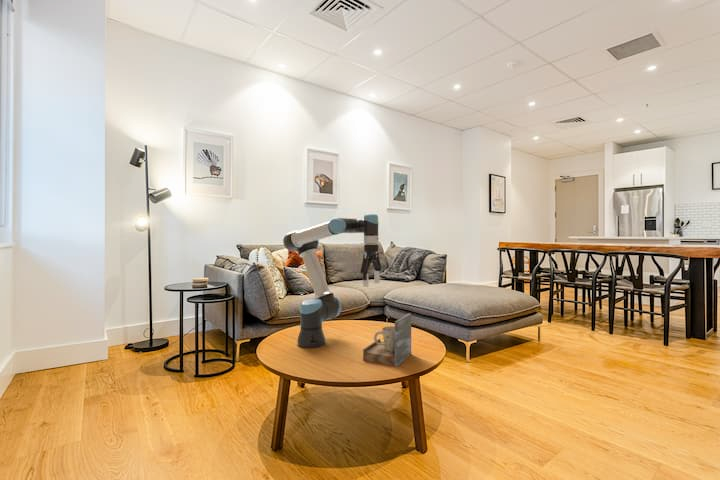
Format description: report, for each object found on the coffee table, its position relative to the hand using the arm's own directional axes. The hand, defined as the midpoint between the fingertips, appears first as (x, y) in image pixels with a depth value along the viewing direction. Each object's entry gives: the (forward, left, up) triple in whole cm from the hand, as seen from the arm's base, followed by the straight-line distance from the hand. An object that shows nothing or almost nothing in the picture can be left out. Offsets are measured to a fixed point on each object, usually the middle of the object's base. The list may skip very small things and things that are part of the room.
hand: (371, 284), depth 185 cm
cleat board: (+13, -10, -33) cm, 37 cm away
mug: (+13, -11, -29) cm, 33 cm away
